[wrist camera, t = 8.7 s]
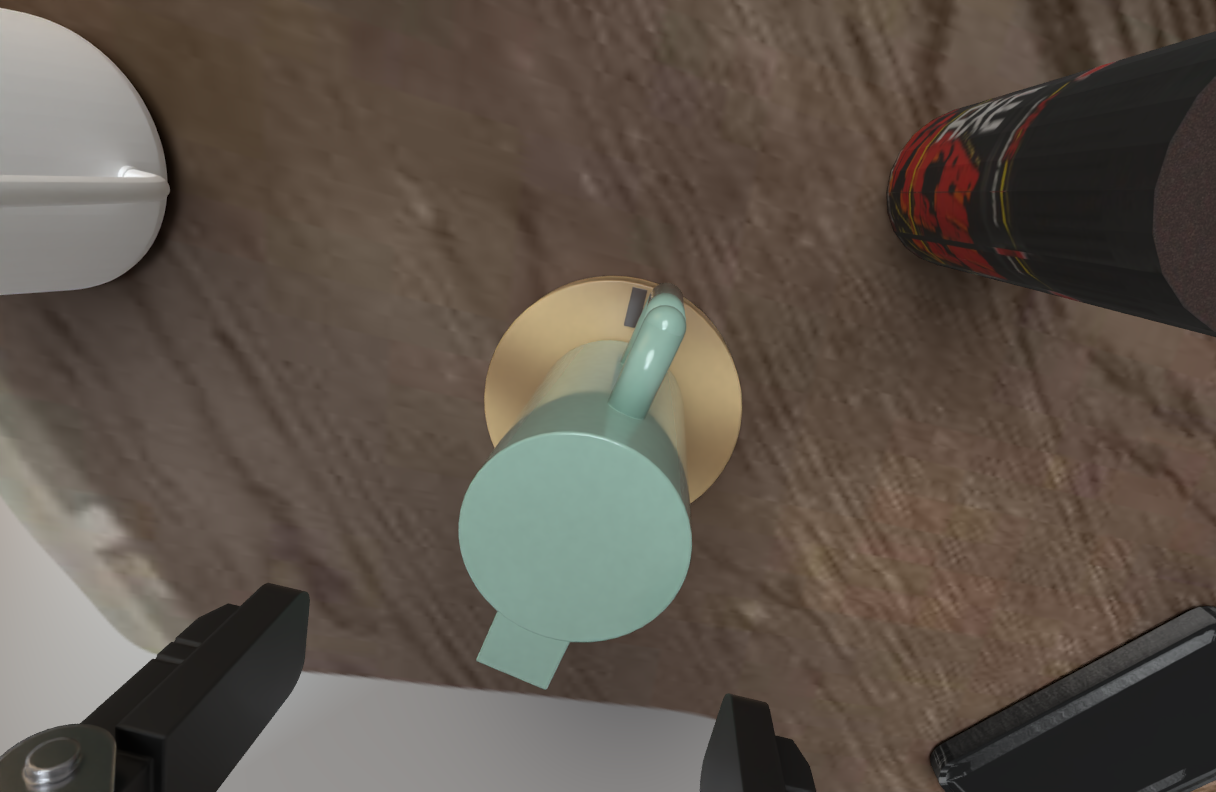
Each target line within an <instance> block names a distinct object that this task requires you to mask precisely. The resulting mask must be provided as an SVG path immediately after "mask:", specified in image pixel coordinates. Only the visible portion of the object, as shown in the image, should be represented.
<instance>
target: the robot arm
mask: <svg viewBox="0 0 1216 792" xmlns="http://www.w3.org/2000/svg"><path fill="white" fill-rule="evenodd" d="M309 604H310V599H309V594H308V593H307V592H305V591H301V590H296V589H292V588H288V587H284V586H280V585H275V584H271V583H266V584H264V585H262V586H261V587H260V588H259V589H258V590H257V591H256V592H255V593H254V594H253V595H252V596H251V597H250V598H249V599H247V600H246V601H245V602H244V603H243V604H242V605H241V606H237V605H232V604H226V605H224V606H222V607H220V608H218V609H216V610H214V611H212V612H210V613H207V614H205V615H203V616H201V617H199V618H198V619H196V620H195V621H194V622H193V623H192V624H191V625H190V626H189V627H188V628H186V629H185V630H184V631H183V632H182V633H181V634H180V635H179V636H177V637H176V640H175V641H174V642H171V643H170V644H169V645H167V646H166V647H165V648H164V649H163V650H162V651H161V652H160V653H158V654H157V657H156V659H152V660H151V661H150V662H148V663H147V664H146V665H145V666H144V667H143V668H142V669H141V670H139V672H137V673H136V674H135V675H134V676H133V677H132V678H131V679H129V680H128V681H127V682H126V683H125V684H124V685H123V686H122V687H121V688H119V689H118V690H117V691H116V692H115V693H114V694H113V695H112V696H110V697H109V698H108V699H107V700H106V701H105V702H104V703H103V704H101V705H100V706H99V707H98V708H97V709H96V710H95V711H94V712H93V713H92V714H90V715H89V716H88V717H87V718H86V719H85V720H84V721H82V722H81V723H80V724H69V725H63V726H58V727H54V728H51V729H47V730H45V731H42V732H39V733H36V734H34V735H32V736H30V737H28V738H26V739H25V740H22V741H21V742H20V743H17V744H16V745H15V746H13V747H12V748H10V749H9V750H7V751H6V752H5V753H4V754H3V755H2V756H0V792H216V791H217V790H218V788H219V787H220V786H221V784H222V783H223V782H224V781H225V779H226V778H227V777H228V775H229V774H230V772H231V771H232V770H233V769H234V767H235V766H236V765H237V763H238V762H239V761H240V759H241V758H242V757H243V756H244V754H245V753H246V752H247V750H248V749H249V748H250V746H251V745H252V744H253V742H254V741H255V740H256V738H257V737H258V736H259V734H260V733H261V732H262V730H263V729H264V728H265V726H266V725H267V724H268V723H269V721H270V720H271V719H272V717H273V716H274V715H275V713H276V712H277V711H278V709H279V708H280V707H281V706H282V704H283V703H284V702H285V700H286V699H287V698H288V696H289V695H290V693H291V692H292V690H293V689H294V687H295V685H296V683H297V681H298V679H299V676H300V674H301V671H302V668H303V664H304V659H305V649H306V638H307V626H308V615H309ZM700 792H816V789H815V785H814V781H813V777H812V773H811V769H810V766H809V764H808V762H807V761H806V759H805V758H804V756H803V755H802V753H801V752H800V750H799V749H798V747H797V746H796V744H795V743H794V741H793V740H792V739H788V738H784V737H780V736H775V733H774V728H773V723H772V718H771V713H770V709H769V706H768V704H767V703H766V702H762V701H758V700H754V699H749V698H745V697H741V696H737V695H733V694H726V695H725V697H724V699H723V701H722V704H721V707H720V710H719V713H718V716H717V719H716V722H715V725H714V729H713V732H712V735H711V738H710V741H709V744H708V747H707V750H706V753H705V756H704V760H703V765H702V771H701V780H700Z"/></svg>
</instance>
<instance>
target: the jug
mask: <svg viewBox="0 0 1216 792" xmlns="http://www.w3.org/2000/svg"><path fill="white" fill-rule="evenodd" d="M685 333H686V317H685V308H684V299H683V295H682V292H681V291H680V289H679V288H678V287H677V286H675V285H673V284H671V283H662V284H659V285H657V286H656V287H655V288H654V289H653V290H652V291H651V293H650V295H649V297H648V299H647V302H646V304H645V306H644V308H643V311H642V313H641V315H640V317H639V320H638V322H637V324H636V326H635V329H634V331H633V333H632V335H631V338H630V340H629V342H628V343H627V342H623V341H615V340H601V341H595V342H590V343H587V344H583V345H581V346H579V347H576V348H574V349H572V350H571V351H569V352H568V353H566V354H565V355H563V356H562V357H561V358H560V359H559V360H558V361H557V362H556V363H555V364H554V365H553V366H552V367H551V369H550V370H549V372H548V373H547V374H546V376H545V377H544V379H543V380H542V382H541V383H540V384H539V386H538V387H537V389H536V390H535V392H534V393H533V394H532V396H531V397H530V399H529V400H528V402H527V403H526V404H525V406H524V407H523V409H522V410H521V411H520V413H519V414H518V416H517V417H516V419H515V420H514V421H513V423H512V424H511V426H510V427H509V429H508V430H507V431H506V433H505V434H504V436H503V437H502V439H501V440H500V441H499V443H498V444H497V446H496V447H495V449H494V450H493V451H492V453H491V454H490V456H489V457H488V459H487V460H486V461H485V463H484V464H483V466H482V467H481V469H480V470H479V471H478V473H477V474H476V476H475V477H474V479H473V480H472V482H471V483H470V485H469V487H468V490H467V492H466V494H465V496H464V499H463V503H462V506H461V510H460V516H459V543H460V550H461V553H462V557H463V561H464V564H465V566H466V568H467V571H468V573H469V575H470V577H471V579H472V581H473V582H474V584H475V586H476V587H477V589H478V590H479V591H480V593H481V594H482V595H483V597H484V598H485V599H486V600H487V601H488V602H489V603H490V604H491V605H492V606H493V607H494V608H495V609H496V610H497V612H496V615H495V617H494V619H493V621H492V624H491V626H490V628H489V630H488V633H487V635H486V637H485V640H484V642H483V644H482V647H481V649H480V651H479V654H478V656H477V659H476V660H477V662H480V663H482V664H485V665H487V666H489V667H492V668H494V669H497V670H499V671H501V672H504V673H506V674H509V675H511V676H513V677H516V678H518V679H521V680H523V681H525V682H528V683H530V684H533V685H535V686H537V687H540V688H542V689H544V690H546V689H547V688H548V686H549V684H550V682H551V680H552V678H553V676H554V674H555V672H556V670H557V668H558V666H559V664H560V661H561V659H562V657H563V655H564V653H565V651H566V649H567V647H568V645H569V643H570V642H597V641H604V640H609V639H614V638H618V637H620V636H623V635H626V634H629V633H631V632H633V631H635V630H637V629H639V628H641V627H643V626H645V625H646V624H648V623H649V622H651V621H652V620H654V619H655V618H656V617H657V616H658V615H659V614H660V613H662V612H663V611H664V610H665V609H666V608H667V606H668V605H669V604H670V603H671V602H672V601H673V599H674V598H675V596H676V595H677V593H678V592H679V590H680V589H681V587H682V584H683V582H684V580H685V578H686V576H687V572H688V569H689V565H690V561H691V553H692V529H691V512H690V495H689V479H688V462H687V445H686V428H685V412H684V402H683V396H682V393H681V390H680V387H679V385H678V383H677V381H676V379H675V377H674V375H673V374H672V372H671V371H670V370H669V367H670V365H671V363H672V361H673V359H674V357H675V355H676V353H677V350H678V348H679V346H680V344H681V342H682V340H683V338H684V335H685Z"/></svg>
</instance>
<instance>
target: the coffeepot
mask: <svg viewBox="0 0 1216 792" xmlns="http://www.w3.org/2000/svg"><path fill="white" fill-rule="evenodd" d="M169 192H170V187H169V184H168V183H167V169H166V162H165V156H164V152H163V148H162V144H161V141H160V138H159V135H158V132H157V129H156V127H155V124H154V122H153V119H152V117H151V115H150V113H149V111H148V109H147V107H146V105H145V104H144V102H143V100H142V98H141V97H140V95H139V94H138V92H137V91H136V89H135V88H134V86H133V85H132V84H131V82H130V81H129V80H128V78H127V77H126V76H125V75H124V74H123V72H122V71H121V70H120V69H119V68H118V67H117V66H116V65H115V64H114V63H113V62H112V61H111V60H110V59H109V58H108V57H107V56H106V55H105V54H103V53H102V52H101V51H100V50H99V49H97V48H96V47H95V46H93V45H92V44H91V43H90V42H88V41H87V40H85V39H84V38H82V37H81V36H79V35H78V34H76V33H74V32H73V31H71V30H69V29H67V28H65V27H63V26H61V25H59V24H56V23H54V22H52V21H49V20H46V19H44V18H41V17H38V16H34V15H31V14H27V13H22V12H18V11H13V10H8V9H2V8H0V295H10V294H24V293H38V292H52V291H67V290H77V289H85V288H90V287H94V286H97V285H101V284H104V283H107V282H109V281H111V280H114V279H116V278H117V277H119V276H121V275H123V274H124V273H125V272H127V271H128V270H130V269H131V268H132V267H133V266H134V265H136V264H137V263H138V262H139V261H140V260H141V259H142V258H143V256H144V255H145V254H146V253H147V251H148V250H149V249H150V247H151V246H152V244H153V242H154V240H155V239H156V237H157V234H158V232H159V230H160V227H161V224H162V221H163V217H164V213H165V208H166V201H167V196H168V195H169Z"/></svg>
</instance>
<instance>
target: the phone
mask: <svg viewBox="0 0 1216 792" xmlns="http://www.w3.org/2000/svg"><path fill="white" fill-rule="evenodd" d="M930 761H931V766H932V768H933V770H934V772H935V775H936V777H937V779H938V781H939V783H940V785H941V787H942V788H943V789H944V791H945V792H1191V791H1193V790H1195V789H1197V788H1199V787H1202V786H1204V785H1206V784H1208V783H1210V782H1212V781H1215V780H1216V607H1211V606H1205V607H1198V608H1195V609H1193V610H1190V611H1188V612H1186V613H1185V614H1183V615H1181V616H1179V617H1177V618H1175V619H1173V620H1171V621H1170V622H1168V623H1166V624H1164V625H1162V626H1160V627H1158V628H1157V629H1155V630H1153V631H1151V632H1149V633H1147V634H1145V635H1144V636H1142V637H1140V638H1138V639H1136V640H1134V641H1132V642H1131V643H1129V644H1127V645H1125V646H1123V647H1121V648H1119V649H1117V650H1116V651H1114V652H1112V653H1110V654H1108V655H1106V656H1104V657H1103V658H1101V659H1099V660H1097V661H1095V662H1093V663H1091V664H1090V665H1088V666H1086V667H1084V668H1082V669H1080V670H1078V671H1076V672H1075V673H1073V674H1071V675H1069V676H1067V677H1065V678H1063V679H1062V680H1060V681H1058V682H1056V683H1054V684H1052V685H1050V686H1049V687H1047V688H1045V689H1043V690H1041V691H1039V692H1037V693H1035V694H1034V695H1032V696H1030V697H1028V698H1026V699H1024V700H1022V701H1021V702H1019V703H1017V704H1015V705H1013V706H1011V707H1009V708H1008V709H1006V710H1004V711H1002V712H1000V713H998V714H996V715H995V716H993V717H991V718H989V719H987V720H985V721H983V722H981V723H980V724H978V725H976V726H974V727H972V728H970V729H968V730H967V731H965V732H963V733H961V734H959V735H957V736H955V737H954V738H952V739H950V740H948V741H946V742H944V743H942V744H941V745H939V746H938V747H937V748H935V750H934V751H933V752H932V755H931V758H930Z"/></svg>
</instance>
